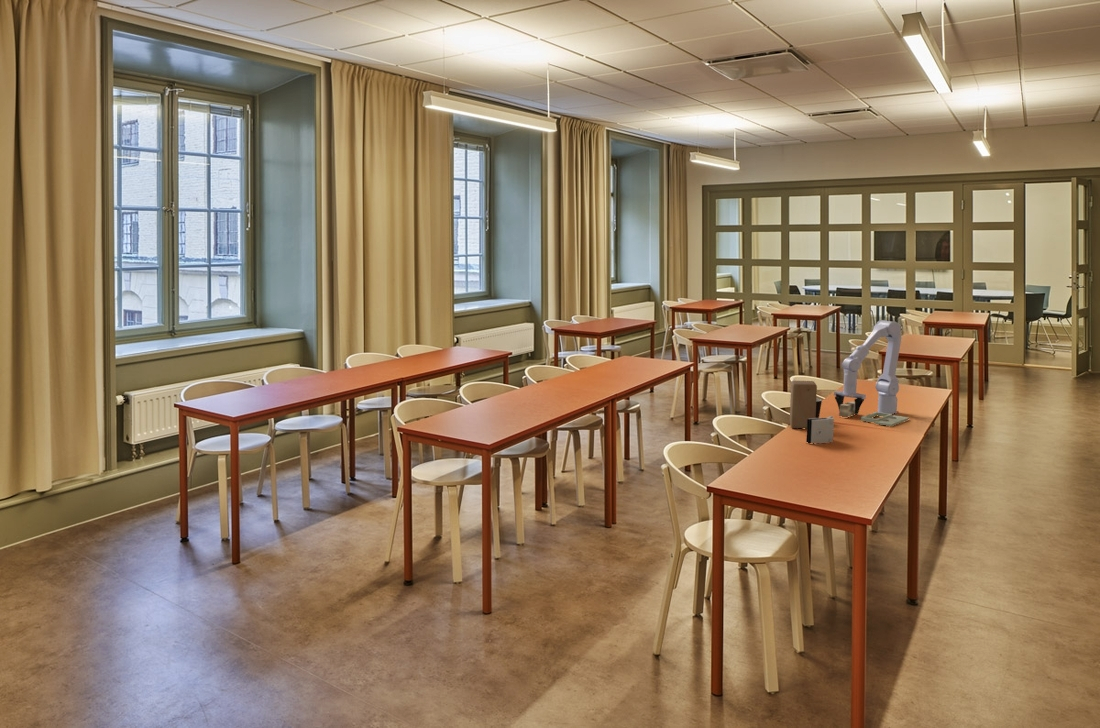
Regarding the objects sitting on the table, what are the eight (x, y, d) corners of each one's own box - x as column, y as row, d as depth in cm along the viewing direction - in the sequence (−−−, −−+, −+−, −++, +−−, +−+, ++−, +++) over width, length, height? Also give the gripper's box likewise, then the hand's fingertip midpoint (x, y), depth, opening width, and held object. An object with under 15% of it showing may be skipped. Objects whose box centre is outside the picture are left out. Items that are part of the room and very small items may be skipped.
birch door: (850, 413, 389) (851, 401, 388) (857, 414, 386) (858, 402, 385) (839, 417, 380) (839, 404, 379) (846, 418, 378) (847, 405, 377)
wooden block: (815, 430, 354) (817, 384, 351) (791, 429, 356) (793, 383, 353) (812, 425, 364) (814, 380, 361) (789, 424, 366) (791, 380, 363)
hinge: (830, 439, 337) (831, 415, 336) (840, 442, 333) (841, 418, 331) (804, 443, 331) (805, 418, 330) (813, 446, 327) (815, 421, 325)
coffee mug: (823, 423, 367) (824, 401, 366) (804, 423, 368) (805, 401, 366) (815, 417, 379) (816, 396, 378) (796, 417, 379) (797, 396, 378)
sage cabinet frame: (877, 415, 384) (877, 411, 383) (909, 420, 373) (909, 415, 373) (858, 422, 370) (859, 417, 369) (890, 427, 359) (891, 422, 359)
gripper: (831, 383, 383) (829, 411, 385) (861, 386, 373) (860, 415, 375) (838, 381, 388) (836, 409, 390) (868, 384, 378) (866, 413, 380)
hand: (848, 412), depth 383 cm, fingers open, 7 cm apart
